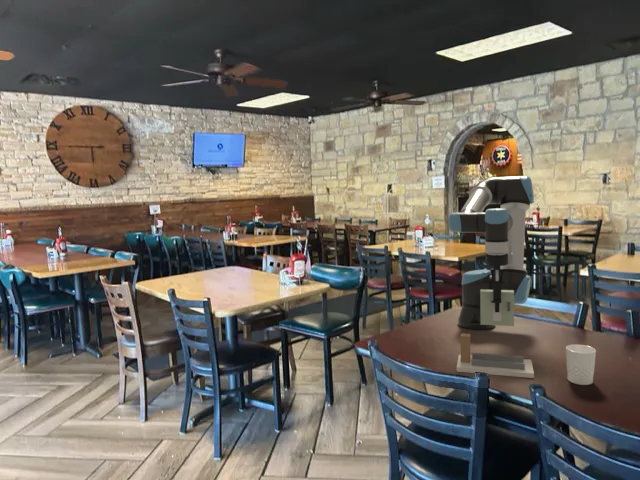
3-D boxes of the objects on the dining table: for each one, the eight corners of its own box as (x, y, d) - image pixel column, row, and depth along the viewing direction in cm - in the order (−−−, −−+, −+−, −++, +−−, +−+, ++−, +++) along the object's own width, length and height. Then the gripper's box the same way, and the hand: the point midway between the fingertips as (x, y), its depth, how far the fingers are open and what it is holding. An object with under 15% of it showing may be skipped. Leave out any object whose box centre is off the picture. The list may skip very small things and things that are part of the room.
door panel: (480, 325, 171) (480, 292, 169) (480, 322, 174) (480, 289, 173) (514, 327, 167) (514, 292, 165) (513, 323, 171) (513, 290, 169)
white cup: (594, 388, 141) (595, 354, 140) (564, 383, 145) (564, 350, 144) (595, 378, 148) (596, 346, 146) (566, 373, 152) (567, 343, 151)
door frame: (456, 371, 157) (456, 340, 156) (458, 358, 168) (458, 329, 167) (534, 378, 150) (534, 345, 148) (530, 364, 161) (531, 333, 160)
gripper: (509, 257, 159) (509, 326, 162) (507, 249, 174) (507, 313, 177) (485, 257, 162) (485, 325, 165) (485, 249, 177) (485, 312, 180)
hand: (497, 318), depth 171 cm, fingers closed on door panel, 3 cm apart
